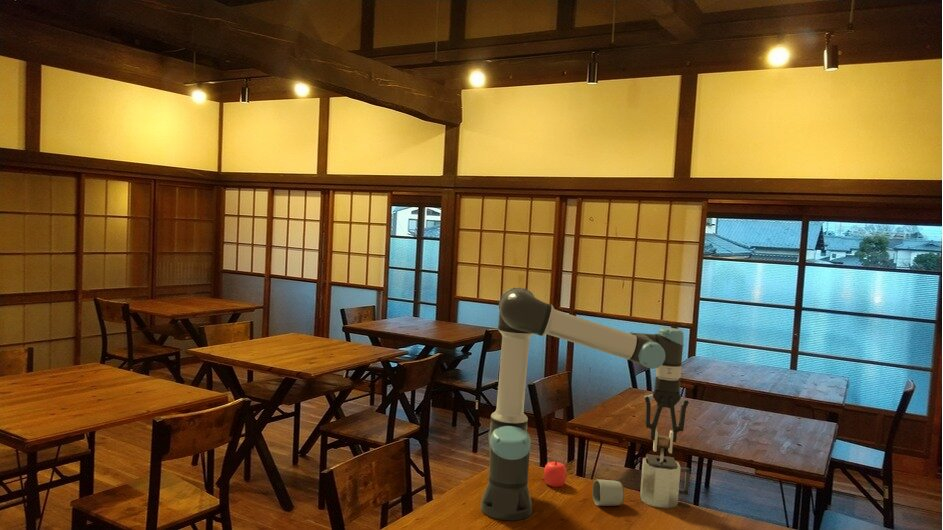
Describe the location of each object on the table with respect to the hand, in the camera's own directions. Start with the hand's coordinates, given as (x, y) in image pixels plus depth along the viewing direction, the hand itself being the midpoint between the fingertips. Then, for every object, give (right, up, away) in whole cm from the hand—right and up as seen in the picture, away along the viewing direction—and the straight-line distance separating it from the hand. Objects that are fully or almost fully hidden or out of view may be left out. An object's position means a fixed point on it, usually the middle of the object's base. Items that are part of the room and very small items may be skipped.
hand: (662, 450), depth 208 cm
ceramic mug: (-18, -16, -2) cm, 24 cm away
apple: (-33, -14, +10) cm, 37 cm away
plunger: (-1, -13, +1) cm, 13 cm away
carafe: (+1, -16, +1) cm, 16 cm away
